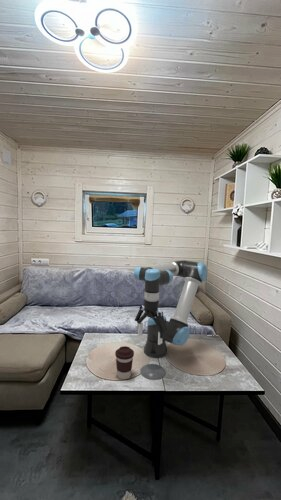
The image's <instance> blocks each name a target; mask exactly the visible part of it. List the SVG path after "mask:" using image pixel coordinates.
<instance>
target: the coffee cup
mask: <svg viewBox="0 0 281 500" xmlns="http://www.w3.org/2000/svg"><path fill="white" fill-rule="evenodd" d="M114 354H115V365H116V374H117V378H118V379H120V380H127V379H129V378H130V377H131V374H132V369H133V359H134V358H133V357H134V355H135V351H134V350H133V349H132V348H131V347H129V346H127V345H126V346H125V345H123V346H120V347H119V348H118V349H116V350H115V352H114Z"/></svg>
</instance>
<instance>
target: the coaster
mask: <svg viewBox="0 0 281 500" xmlns="http://www.w3.org/2000/svg"><path fill="white" fill-rule="evenodd" d="M166 373H167V372H166V369H165V368H164V367H163V366H162V365H160V364H158V363H157V364H156V363H148V364H147V363H146V364H144V365H142V367H141V368H140V375H141V376H142V377H144V379H148V380H153V381H156V380H160V379H163V378H164V377H165V376H166Z"/></svg>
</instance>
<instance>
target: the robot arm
mask: <svg viewBox="0 0 281 500" xmlns="http://www.w3.org/2000/svg"><path fill="white" fill-rule="evenodd" d="M133 277H134V279H135V280H138V281H141V282H144V296H143V297H144V299H143V304H142V305H139V309H138V312H137V314H136V316H135V318H134V321H135V322H136V323H137V336H138V337H140V336H142V335H143V334H144V333H143V332H144V331H143V330H144V322H143V321H144V320H145V319H146V318H148V320H147V331H146V334H147V336H146V341H145V344H144V347H143V352H144V354H145V355H146V356H148V357H150V358H155V359H159V358H160V359H161V358H163V357H166V356H167V355H168V347H167V343H166V342H168V343H170V344H173V345H175V346H179V347H181V346H184V345H185V344H186V343H187V341H188V340H189V339H190V335H191V334H190V333H191V329H190V328H189V323H188V319H189V316H190V313H191V310H192V307H193V304H194V300H195V297H196V293H197V291H198V287H199V286H201V285H202V282H206V280H207V278H208V267H207V265H206V264H205V263H204V262H200V261H192V260H185V259H184V260H176V261H170V262H168V263H166V264H161V265H160V264H159V265H155V266H147V267H142V266H136V268H134V270H133ZM174 277H179V278H180V277H181V278H183V281H184V284H183V287H182V289H181V294H180V296H179V299H178V302H177V306H176V308H175V311H174V314H173V316H172V317H170V319H169V321H168V320H167V316H164V312H163V311H162V310H161V311H159V308H160V307H159V306H160V305H159V303H160V301H159V300H160V287H162V286H165V285H169V284H171V283H172V282H173V280H174ZM143 312H144V313H143Z"/></svg>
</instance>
